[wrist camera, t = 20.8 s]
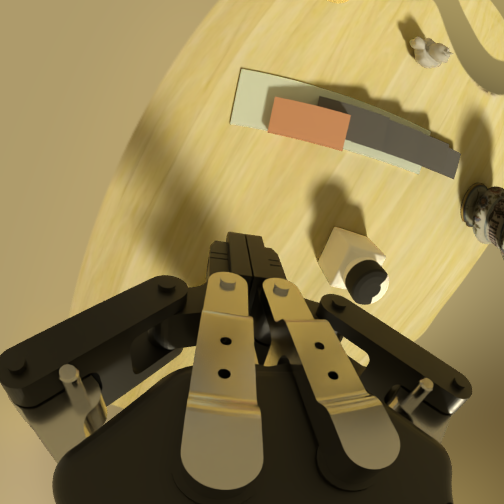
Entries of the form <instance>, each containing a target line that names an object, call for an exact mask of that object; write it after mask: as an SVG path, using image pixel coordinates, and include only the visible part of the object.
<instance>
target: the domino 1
mask: <svg viewBox="0 0 504 504" xmlns="http://www.w3.org/2000/svg"><path fill="white" fill-rule="evenodd" d="M350 117H351V115H348V114H345V113H342V112H338V111H334V110H331V109H327V108H323V107H319V106H315V105H311V104H307V103H303V102H298V101H294V100H289V99H284V98H279V97H275V99H274V103H273V108H272V113H271V118H270V123H269V127H268V133H273V134H277V135H282V136H286V137H290V138H295V139H299V140H303V141H307V142H311V143H314V144H318V145H322V146H326V147H329V148H333V149H336V150H340V151H342V150H343V146H344V142H345V138H346V134H347V130H348V126H349V122H350Z"/></svg>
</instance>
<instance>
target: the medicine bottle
mask: <svg viewBox="0 0 504 504" xmlns="http://www.w3.org/2000/svg"><path fill="white" fill-rule="evenodd" d="M385 259H386V256H385V255H384V254H383V253H382V251H381V250H380V249H379V248H378V247H377V246H376V245H375V244H374V243H373V242H372V241H371V240H370V239H369V238H368V237H366V236H363V235H360V234H357V233H354V232H351V231H348V230H345V229H342V228H338V227H334V228H333V230H332V232H331V235H330V237H329V239H328V241H327V243H326V246H325V248H324V250H323V252H322V254H321V256H320V258H319V261H318V264H319V266H320V268H321V269H322V271H323V273H324V275H325V277H326V278H327V280H328V282H329V284H330V285H331V286H332V287H337V288H342V289H347V290H348V292H349V293H350V295H351V297H352V298H353V300H354V301H355V302H356V303H358V304H364V305H366V304H371V303H374V302H376V301H377V300H379V299H380V298H381V297H382V296H383V295H384V294H385V292H386V291H387V288H388V285H389V276H388V274H387V273H386V272H385V270H384V269H383V268H382V267H381V266H382V264H383V262H384V260H385Z"/></svg>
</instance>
